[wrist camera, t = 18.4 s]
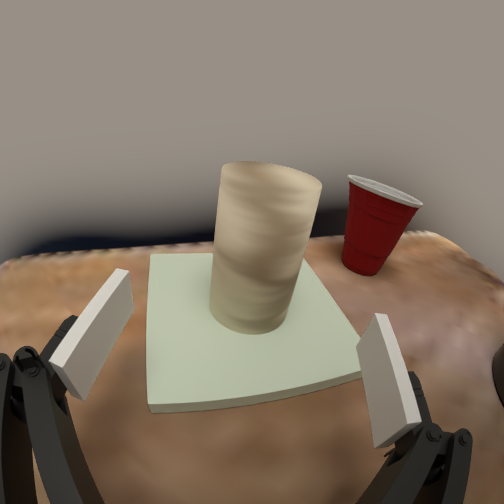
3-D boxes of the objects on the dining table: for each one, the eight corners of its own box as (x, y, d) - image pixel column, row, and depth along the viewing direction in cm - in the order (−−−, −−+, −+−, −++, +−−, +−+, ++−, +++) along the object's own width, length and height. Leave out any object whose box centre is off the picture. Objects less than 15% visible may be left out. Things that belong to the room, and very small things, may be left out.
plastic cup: (396, 263, 39) (422, 193, 33) (388, 297, 31) (426, 210, 25) (336, 237, 44) (356, 168, 37) (314, 264, 35) (338, 176, 29)
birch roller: (272, 280, 28) (297, 166, 22) (297, 329, 23) (341, 195, 17) (204, 283, 26) (215, 158, 20) (216, 338, 21) (232, 186, 14)
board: (296, 262, 35) (299, 252, 34) (370, 374, 20) (377, 364, 20) (151, 265, 30) (150, 253, 29) (151, 413, 15) (147, 404, 14)
